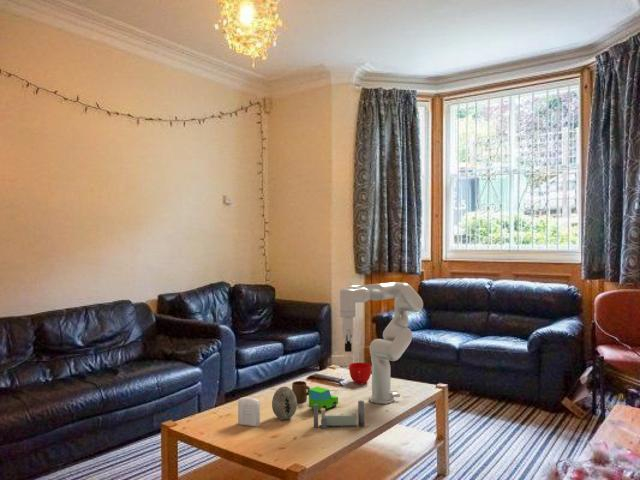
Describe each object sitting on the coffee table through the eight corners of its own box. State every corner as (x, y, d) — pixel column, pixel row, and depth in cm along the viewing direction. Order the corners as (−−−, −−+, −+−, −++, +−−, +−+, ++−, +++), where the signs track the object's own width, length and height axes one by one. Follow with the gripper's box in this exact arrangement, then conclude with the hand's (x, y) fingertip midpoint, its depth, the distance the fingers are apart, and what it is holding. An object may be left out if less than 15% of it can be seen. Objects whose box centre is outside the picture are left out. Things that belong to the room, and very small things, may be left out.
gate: (355, 423, 224) (355, 407, 224) (356, 425, 222) (355, 409, 222) (321, 423, 225) (320, 408, 225) (321, 425, 223) (320, 409, 223)
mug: (315, 402, 255) (315, 384, 255) (304, 406, 250) (304, 388, 250) (300, 397, 264) (299, 380, 264) (289, 401, 259) (289, 383, 258)
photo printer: (261, 423, 228) (261, 396, 228) (257, 427, 224) (257, 399, 224) (241, 421, 231) (240, 395, 231) (236, 425, 227) (236, 398, 227)
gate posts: (364, 424, 225) (363, 400, 225) (365, 428, 221) (365, 403, 221) (313, 425, 224) (313, 401, 224) (313, 429, 220) (313, 404, 220)
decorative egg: (276, 425, 226) (275, 392, 226) (269, 416, 237) (268, 385, 237) (300, 421, 230) (300, 388, 230) (292, 412, 241) (292, 382, 241)
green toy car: (340, 406, 249) (340, 386, 249) (322, 413, 240) (322, 393, 240) (325, 402, 256) (325, 382, 256) (307, 409, 247) (307, 388, 247)
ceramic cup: (347, 387, 280) (347, 369, 280) (350, 378, 297) (350, 362, 297) (370, 388, 278) (370, 370, 278) (372, 379, 295) (372, 362, 295)
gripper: (339, 311, 250) (339, 348, 251) (341, 316, 235) (341, 355, 236) (353, 311, 251) (354, 347, 251) (356, 316, 236) (357, 354, 236)
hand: (348, 351), depth 243 cm, fingers closed
